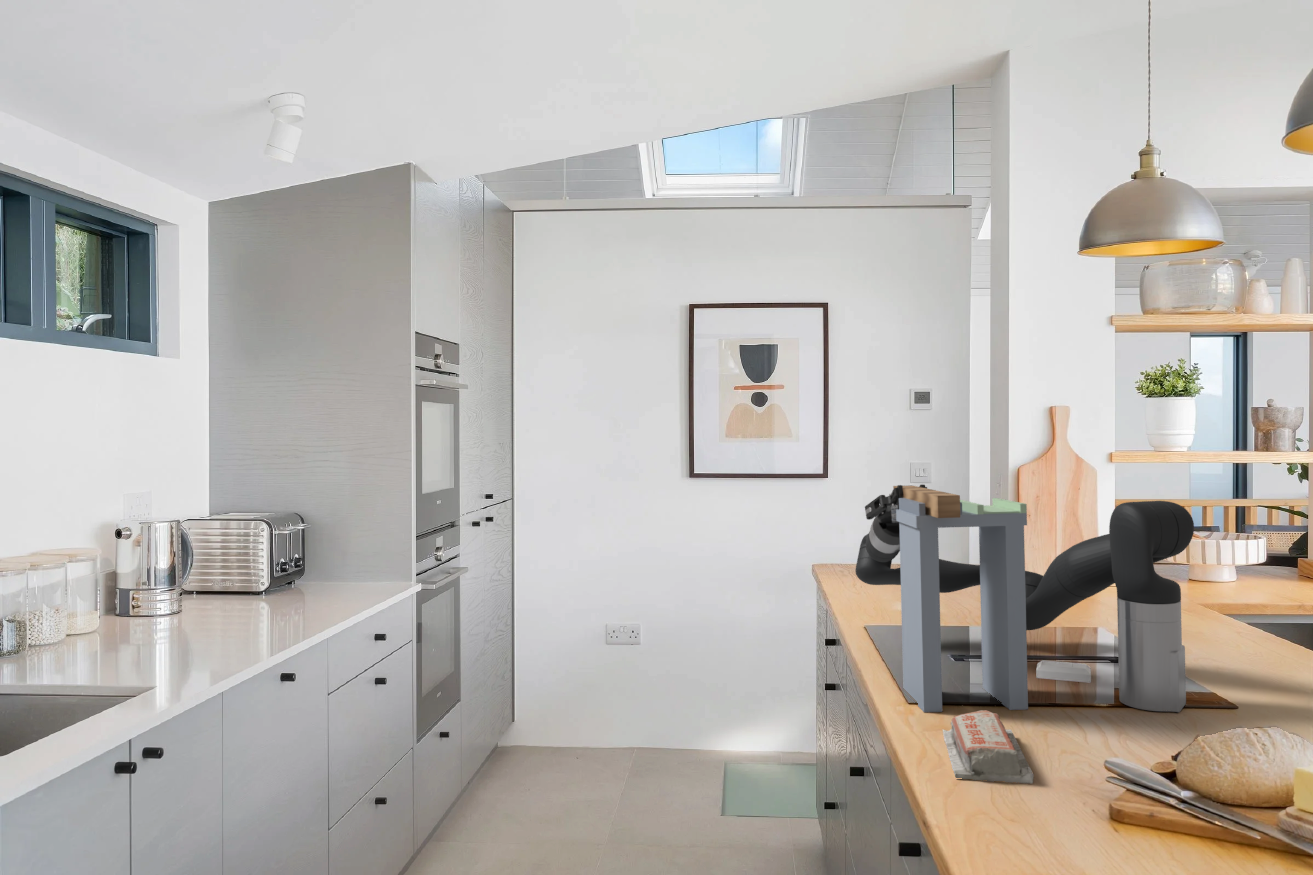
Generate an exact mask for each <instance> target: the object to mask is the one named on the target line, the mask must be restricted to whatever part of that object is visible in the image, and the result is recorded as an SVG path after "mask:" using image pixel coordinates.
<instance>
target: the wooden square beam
mask: <svg viewBox="0 0 1313 875" xmlns="http://www.w3.org/2000/svg"><path fill="white" fill-rule="evenodd" d="M897 486H898V485H893V486H892V487H893V489H894V488H897ZM902 486H903V494H904V495H903V498H907V499H910V500H914V501H918V502H922V503H925V514H926V515H930V516H933V517H936V518H960V500H961V496H960V495H959V494H955V493H949V492H946V491H941V490H936V489H930V488H928V487H927V488H922V487H919V486H918V485H917V486H916V485H902ZM893 489H892V490H893ZM898 506H899V504H898Z"/></svg>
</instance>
